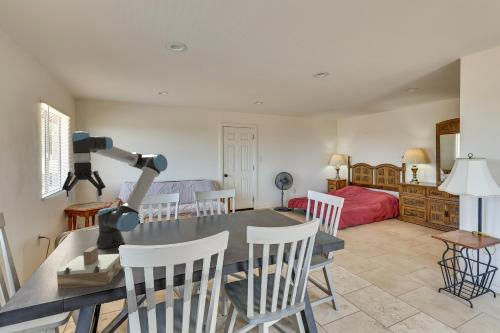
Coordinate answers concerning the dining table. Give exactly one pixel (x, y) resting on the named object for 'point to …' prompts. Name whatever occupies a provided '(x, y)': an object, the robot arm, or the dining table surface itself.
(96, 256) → the white box lid
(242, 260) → the dining table surface
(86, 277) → the shallow wooden tray
